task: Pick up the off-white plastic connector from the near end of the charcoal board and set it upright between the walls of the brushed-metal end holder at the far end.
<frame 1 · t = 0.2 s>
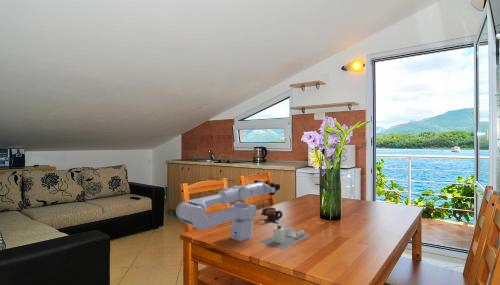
hand: (273, 185, 143), 21 cm above the table, tool horizontal, fingers open, 7 cm apart
route board: (286, 240, 127), on the table
connector: (279, 241, 124), point 1 cm above the table, touching route board
pottery mug: (271, 221, 157), on the table
end holder: (293, 237, 132), resting on route board
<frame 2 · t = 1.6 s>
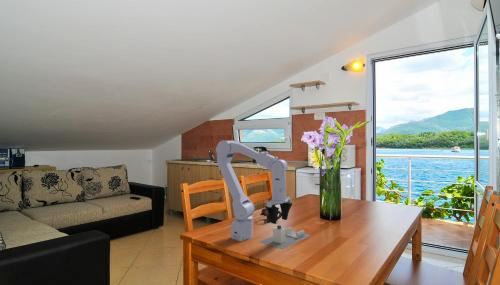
hand: (279, 221, 123), 9 cm above the table, tool pointing down, fingers open, 7 cm apart
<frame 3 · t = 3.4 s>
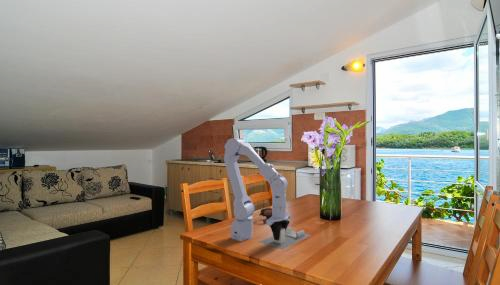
hand: (279, 238, 124), 2 cm above the table, tool pointing down, fingers closed on connector, 3 cm apart
connector: (279, 241, 124), point 1 cm above the table, touching gripper, route board
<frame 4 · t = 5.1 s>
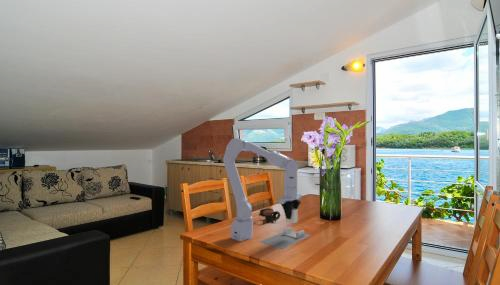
hand: (290, 217, 130), 9 cm above the table, tool pointing down, fingers closed on connector, 3 cm apart
connector: (291, 221, 129), point 8 cm above the table, touching gripper
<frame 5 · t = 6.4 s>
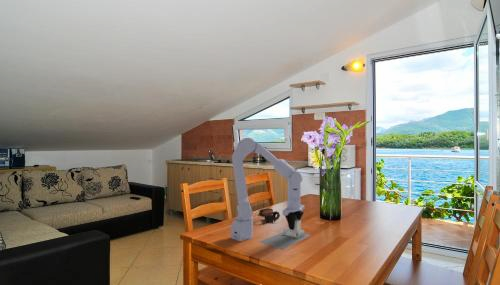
hand: (293, 228, 132), 4 cm above the table, tool pointing down, fingers closed on connector, 3 cm apart
connector: (295, 232, 131), point 2 cm above the table, touching gripper
when the fingers open (4 cm above the table, at t = 7.0 s): connector stays where it is, resting on end holder.
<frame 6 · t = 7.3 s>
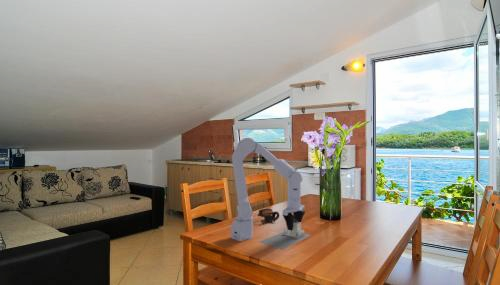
hand: (293, 228, 132), 4 cm above the table, tool pointing down, fingers open, 5 cm apart
connector: (295, 234, 131), point 1 cm above the table, touching end holder
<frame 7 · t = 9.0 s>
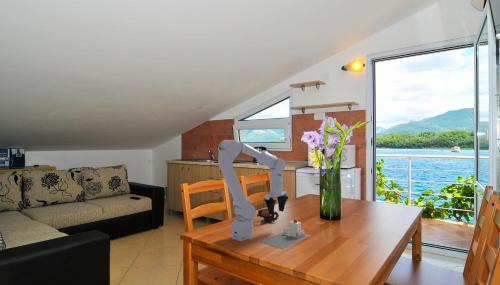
hand: (276, 212, 138), 9 cm above the table, tool pointing down, fingers open, 7 cm apart
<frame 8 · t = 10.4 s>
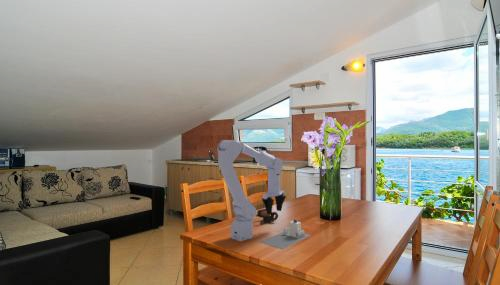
hand: (274, 212, 139), 9 cm above the table, tool pointing down, fingers open, 7 cm apart
at the end: connector 0.7 cm off-centre on the end holder, point 1.4 cm above the end holder's base; connector tilted 0°; the gripper is holding nothing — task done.
